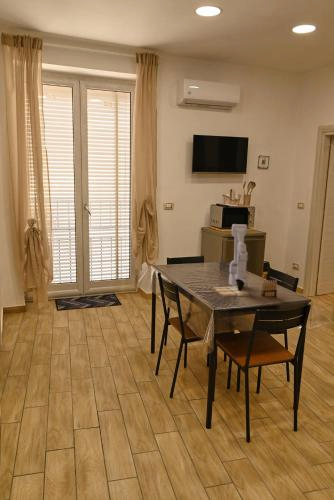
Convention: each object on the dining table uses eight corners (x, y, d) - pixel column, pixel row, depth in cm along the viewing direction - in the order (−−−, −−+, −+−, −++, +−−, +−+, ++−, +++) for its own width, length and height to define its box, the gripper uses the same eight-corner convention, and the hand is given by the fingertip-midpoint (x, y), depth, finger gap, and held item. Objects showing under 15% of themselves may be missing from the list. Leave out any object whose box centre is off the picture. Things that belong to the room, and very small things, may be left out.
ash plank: (226, 289, 274) (226, 286, 273) (237, 289, 276) (237, 286, 276) (237, 297, 257) (238, 294, 256) (249, 297, 259) (249, 294, 259)
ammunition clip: (274, 296, 263) (276, 278, 261) (276, 297, 262) (278, 279, 259) (260, 297, 260) (262, 279, 257) (262, 298, 258) (264, 280, 256)
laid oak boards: (212, 290, 271) (213, 287, 271) (225, 289, 274) (225, 286, 273) (223, 298, 254) (223, 295, 254) (236, 297, 257) (237, 294, 256)
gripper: (231, 268, 270) (229, 287, 272) (240, 273, 256) (239, 293, 258) (240, 268, 272) (239, 287, 274) (250, 273, 258) (249, 293, 260)
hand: (239, 290), depth 266 cm, fingers closed, pressing on ash plank
